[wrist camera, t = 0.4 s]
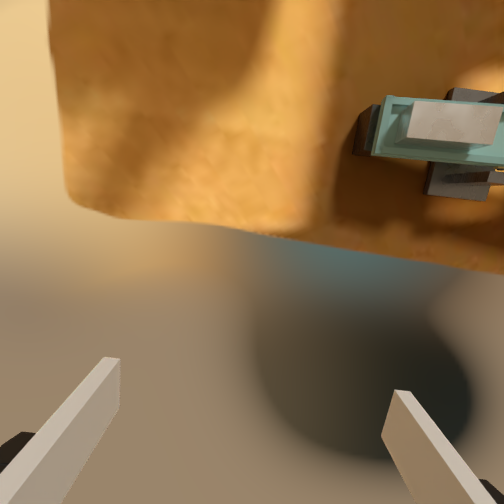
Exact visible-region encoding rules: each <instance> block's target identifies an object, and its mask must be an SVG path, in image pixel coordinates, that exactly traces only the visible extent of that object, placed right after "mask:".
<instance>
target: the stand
mask: <svg viewBox="0 0 504 504" xmlns="http://www.w3.org/2000/svg"><path fill="white" fill-rule="evenodd" d="M447 100H449V101H463V102H478V103H492V104H504V92H501V93H494V92H487V91H479V90H471V89H463V88H456V87H454V88H453V89H451V90H449V92H448V96H447ZM380 107H381V105H374V104H373V105H371V106H370V107H369V108H367V109H366V110H364V111H363V112H362V113H360V115H359V120H358V126H357V131H356V136H355V142H354V147H353V152H352V154H353V155H361V156H369V157H370V156H372V155H371V152H372V147H373V142H374V137H375V132H376V127H377V122H378V117H379V112H380ZM499 185H504V172H496V171H495V169H493V167H487V166H477V165H467V164H456V163H446V162H435V161H431V164H430V168H429V172H428V176H427V180H426V184H425V188H424V192H423V194H425V195H433V196H442V197H450V198H458V199H467V200H475V201H486V198H487V195H488V192H489V188H490V186H499Z"/></svg>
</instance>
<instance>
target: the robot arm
mask: <svg viewBox="0 0 504 504" xmlns="http://www.w3.org/2000/svg"><path fill="white" fill-rule="evenodd" d="M119 404H120V359H119V358H110V357H103V358H102V360H101V361H100V362H99V363H98V364H97V365H96V366H95V367H94V369H93V370H92V371H91V372H90V373H89V374H88V375H87V377H86V378H85V379H84V380H83V381H82V382H81V383H80V384H79V386H78V387H77V388H76V389H75V390H74V391H73V392H72V394H71V395H70V396H69V397H68V398H67V399H66V400H65V401H64V402H63V404H62V405H61V406H60V407H59V408H58V409H57V410H56V411H55V413H54V414H53V415H52V416H51V417H50V418H49V420H48V421H47V422H46V423H45V424H44V425H43V426H42V427H41V428H40V430H39V431H38V432H37V433H29V432H21V433H19V434H18V435H16V436H15V437H13V438H12V439H10V440H9V441H7V442H6V443H4V444H3V445H2V446H1V447H0V504H61V503H62V501H63V500H64V498H65V496H66V495H67V493H68V491H69V490H70V488H71V487H72V485H73V483H74V481H75V480H76V478H77V477H78V475H79V473H80V472H81V470H82V469H83V467H84V465H85V463H86V462H87V460H88V459H89V457H90V455H91V454H92V452H93V450H94V449H95V447H96V446H97V444H98V442H99V441H100V439H101V437H102V436H103V434H104V432H105V431H106V429H107V427H108V426H109V424H110V423H111V421H112V419H113V418H114V416H115V414H116V413H117V411H118V409H119V407H120V405H119ZM381 437H382V439H383V441H384V443H385V445H386V447H387V448H388V450H389V453H390V455H391V456H392V458H393V460H394V462H395V464H396V466H397V468H398V470H399V472H400V474H401V476H402V478H403V480H404V481H405V483H406V485H407V487H408V489H409V491H410V493H411V495H412V497H413V499H414V501H415V503H416V504H504V495H503V494H501V493H500V492H499V491H498V490H497V489H496V488H495V487H494V486H493V485H491V484H490V483H489V482H488V481H487V480H483V479H477V477H476V476H475V475H474V474H473V473H472V471H471V470H470V468H469V467H468V466H467V464H466V463H465V462H464V461H463V459H462V458H461V457H460V455H459V454H458V453H457V451H456V450H455V449H454V448H453V446H452V445H451V444H450V443H449V441H448V440H447V439H446V438H445V436H444V435H443V433H442V432H441V431H440V429H439V428H438V427H437V426H436V424H435V423H434V422H433V420H431V418H430V417H429V415H428V414H427V413H426V412H425V410H424V409H423V408H422V406H421V405H420V404H419V403H418V401H417V400H416V399H415V397H414V396H413V395H412V393H411V392H408V391H400V390H394V394H393V397H392V401H391V404H390V407H389V411H388V414H387V418H386V421H385V425H384V428H383V431H382V434H381Z"/></svg>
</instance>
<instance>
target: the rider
mask: <svg viewBox="0 0 504 504" xmlns="http://www.w3.org/2000/svg"><path fill="white" fill-rule="evenodd" d="M503 108H504V107H497V106H483V105H469V104H454V103H440V102H426V101H414V102H413V103H411V104H410V105H409V106H408V107H406V108H405V109H404V110H403V111H401V114H400V119H399V123H398V128H397V133H396V137H395V142H394V144H401V145H412V146H423V147H434V148H446V149H457V150H468V151H471V150H474V149H478V148H482V147H486V146H490V145H493V142H494V138H495V135H496V131H497V128H498V125H499V121H500V118H501V115H502V111H503Z"/></svg>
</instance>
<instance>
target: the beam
mask: <svg viewBox="0 0 504 504" xmlns="http://www.w3.org/2000/svg"><path fill="white" fill-rule="evenodd" d="M414 101H426V102H440V103H454V104H469V105H483V106H497V107H504V104H492V103H478V102H463V101H449V100H434V99H419V98H405V97H394V96H391V95H387V96H386V97H385V98H384V99H383V100H382V102H381V107H380V112H379V117H378V122H377V127H376V132H375V137H374V142H373V147H372V152H371V155H372V156H383V157H393V158H404V159H414V160H425V161H435V162H446V163H456V164H467V165H477V166H487V167H493V169H497V170H504V108H503V111H502V115H501V118H500V121H499V125H498V128H497V131H496V135H495V138H494V142H493V145H490V146H486V147H482V148H478V149H474V150H471V151H468V150H457V149H446V148H434V147H423V146H412V145H401V144H394V142H395V137H396V133H397V128H398V123H399V119H400V114H401V111H403V110H404V109H405V108H406V107H408V106H409V105H410V104H411V103H413V102H414Z"/></svg>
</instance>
